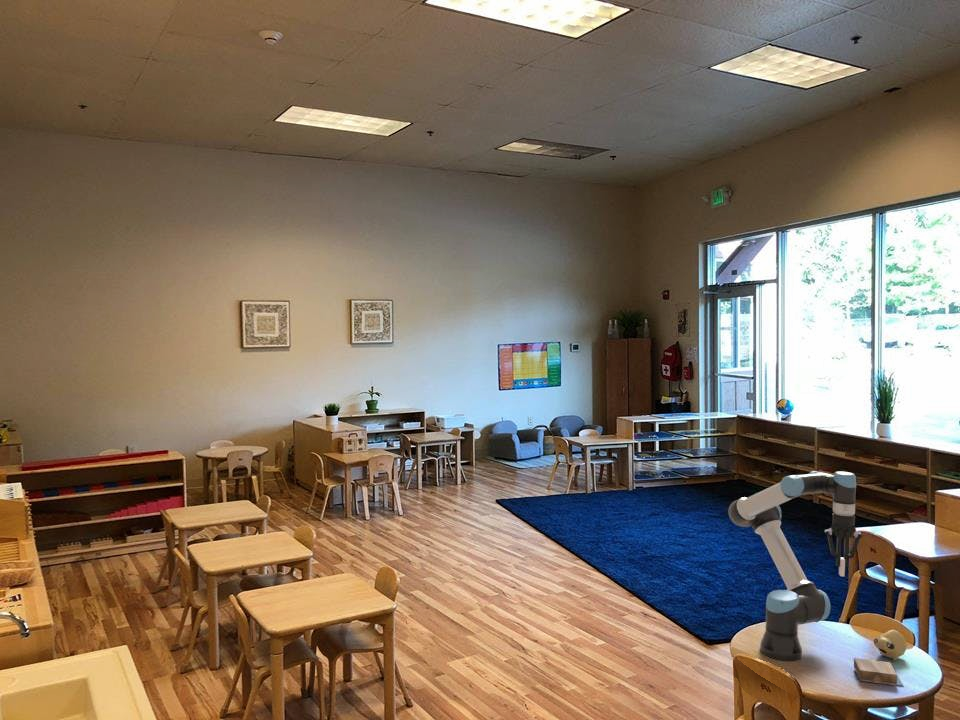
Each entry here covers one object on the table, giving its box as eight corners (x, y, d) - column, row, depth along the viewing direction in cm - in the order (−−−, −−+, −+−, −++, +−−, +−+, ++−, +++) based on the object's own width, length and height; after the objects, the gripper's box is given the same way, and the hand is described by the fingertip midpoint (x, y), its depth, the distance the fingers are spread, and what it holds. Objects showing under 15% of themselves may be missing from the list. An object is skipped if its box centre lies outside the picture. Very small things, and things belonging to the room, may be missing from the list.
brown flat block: (859, 670, 263) (897, 674, 259) (854, 657, 272) (889, 662, 269) (859, 680, 263) (896, 685, 259) (853, 668, 272) (889, 672, 269)
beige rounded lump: (867, 656, 284) (868, 629, 283) (885, 649, 290) (886, 623, 289) (893, 666, 275) (894, 638, 275) (910, 659, 281) (911, 632, 281)
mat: (863, 681, 263) (863, 680, 263) (856, 667, 274) (856, 666, 274) (903, 686, 260) (903, 685, 260) (895, 672, 270) (895, 671, 270)
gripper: (826, 514, 272) (824, 576, 273) (865, 517, 268) (862, 580, 269) (823, 509, 279) (821, 570, 280) (860, 512, 275) (858, 573, 276)
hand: (841, 575), depth 275 cm, fingers closed
